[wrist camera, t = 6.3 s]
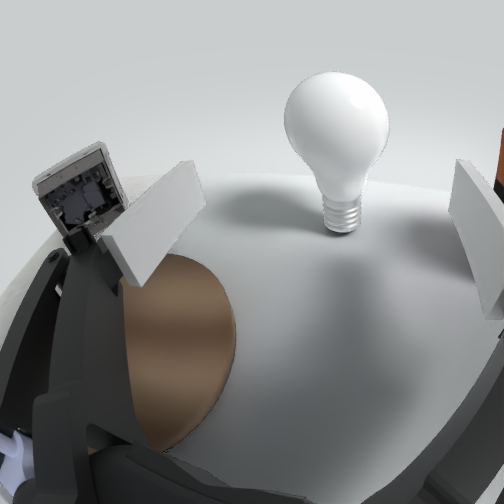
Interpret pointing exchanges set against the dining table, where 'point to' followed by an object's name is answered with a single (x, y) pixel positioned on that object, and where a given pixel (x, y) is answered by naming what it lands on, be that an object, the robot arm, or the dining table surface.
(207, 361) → the board
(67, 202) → the electrical switch
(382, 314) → the dining table surface
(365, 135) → the lightbulb
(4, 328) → the dining table surface
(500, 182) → the battery
